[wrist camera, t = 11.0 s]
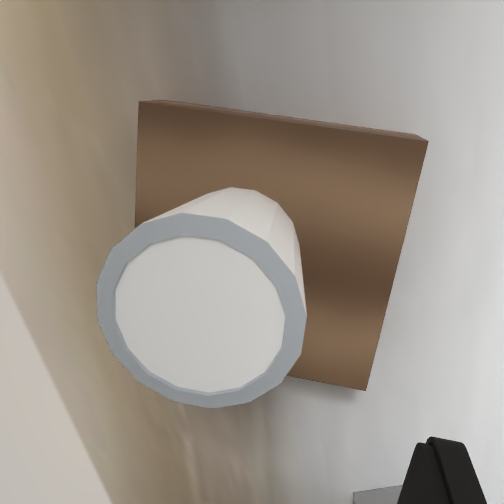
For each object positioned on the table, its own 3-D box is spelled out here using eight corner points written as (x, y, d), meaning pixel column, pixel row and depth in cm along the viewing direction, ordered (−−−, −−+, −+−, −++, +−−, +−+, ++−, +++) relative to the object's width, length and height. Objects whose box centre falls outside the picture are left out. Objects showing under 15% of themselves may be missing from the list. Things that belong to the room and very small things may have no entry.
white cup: (248, 341, 22) (215, 445, 16) (137, 252, 22) (56, 322, 15) (346, 243, 20) (354, 317, 13) (225, 139, 19) (172, 164, 13)
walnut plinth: (162, 99, 22) (138, 101, 19) (414, 134, 21) (428, 140, 18) (151, 318, 26) (131, 345, 24) (361, 357, 25) (365, 390, 22)
